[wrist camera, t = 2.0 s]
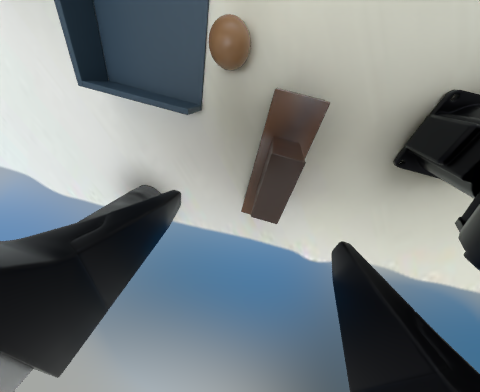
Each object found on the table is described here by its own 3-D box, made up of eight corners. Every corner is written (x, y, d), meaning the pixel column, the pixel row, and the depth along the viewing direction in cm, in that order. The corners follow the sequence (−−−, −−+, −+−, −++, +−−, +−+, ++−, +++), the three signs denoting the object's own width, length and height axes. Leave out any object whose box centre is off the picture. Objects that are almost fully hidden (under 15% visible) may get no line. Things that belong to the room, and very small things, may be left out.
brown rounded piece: (257, 26, 14) (252, 13, 11) (248, 75, 15) (241, 73, 13) (218, 17, 14) (204, 1, 11) (214, 66, 16) (200, 63, 13)
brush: (323, 100, 15) (349, 110, 10) (276, 209, 23) (275, 252, 17) (276, 87, 16) (273, 90, 10) (244, 200, 23) (232, 239, 17)
